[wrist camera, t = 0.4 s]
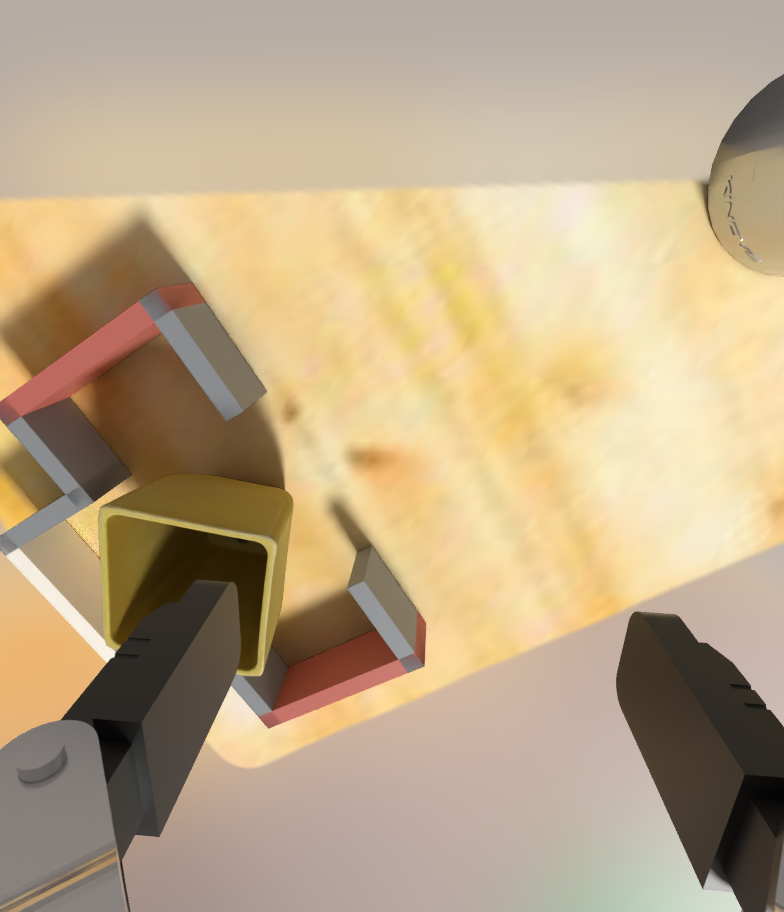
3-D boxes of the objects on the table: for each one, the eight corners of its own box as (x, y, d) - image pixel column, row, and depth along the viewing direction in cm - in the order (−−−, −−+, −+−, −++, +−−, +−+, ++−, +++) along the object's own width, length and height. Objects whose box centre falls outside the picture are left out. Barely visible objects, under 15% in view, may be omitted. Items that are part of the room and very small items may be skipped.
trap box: (-26, 439, 34) (-83, 462, 30) (192, 283, 29) (156, 287, 25) (218, 711, 41) (196, 757, 38) (426, 623, 36) (424, 666, 33)
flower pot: (182, 440, 33) (94, 504, 24) (318, 466, 33) (276, 540, 24) (180, 556, 36) (102, 648, 28) (303, 580, 36) (262, 680, 28)
